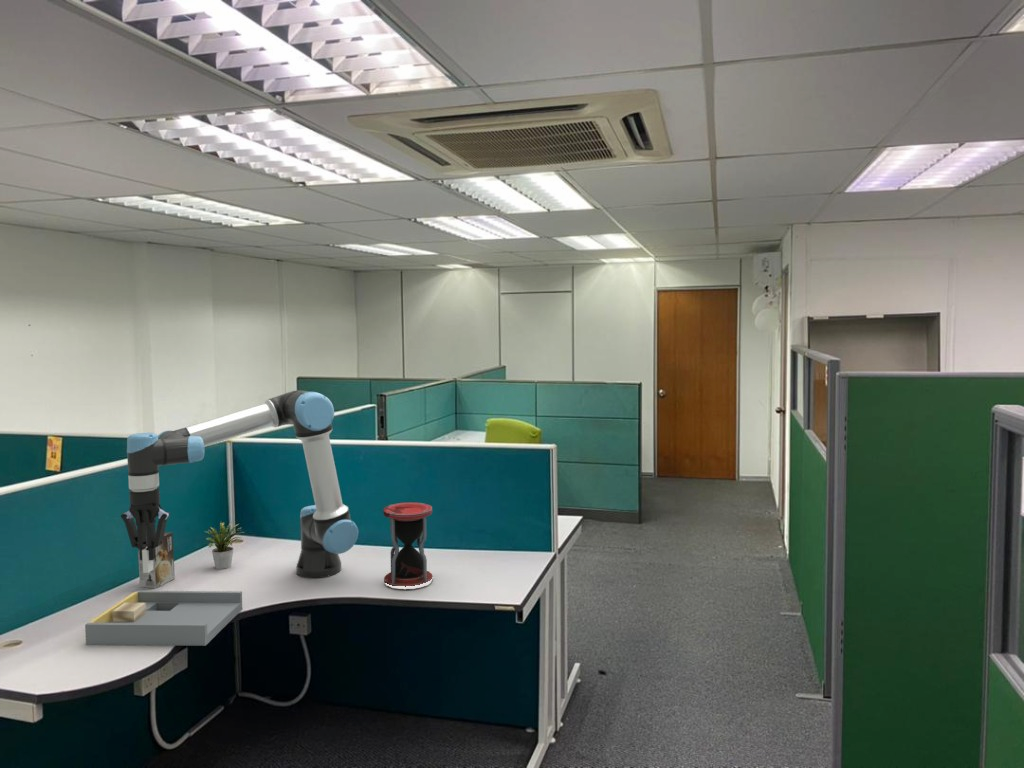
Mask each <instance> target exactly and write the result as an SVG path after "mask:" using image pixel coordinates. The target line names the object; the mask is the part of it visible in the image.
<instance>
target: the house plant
mask: <svg viewBox="0 0 1024 768" xmlns="http://www.w3.org/2000/svg"><path fill="white" fill-rule="evenodd" d="M232 523H233V521H231V522H230V523H229V524H228V525H227V526H225V522H222V521H220V522H219V531H218V530H217V529H216V527H215V528H214V527H211V526H210V527H209V528H210V529H208V530H207V531H206V530H205V533H208V534H209V535H210V536H211V537H206V540H208V541H211V542H209V543H208V545H207V546H208V548H211V547H214V548H213V549H212V550H211V552H212V553H211V554H212V557H213V562H214V566H215V569H217V570H225V569H229V568H231V567H232V561H233V555H234V547H233V543H234V542H237V541H241V542H242V540H241V539H242V537H241V536H240V537H239V536H236V535H240V534H242V533H244V531H240V530H239V529H240V527H238V526H239V523H238V524H235V525H234V526H233V527H231V529H230V530H229V528H230V526H231V524H232ZM236 527H238V528H236ZM242 528H243V527H241V529H242ZM228 530H229V532H228ZM237 531H239V532H237ZM234 536H235V537H234ZM212 542H213V543H212ZM215 547H216V548H215Z"/></svg>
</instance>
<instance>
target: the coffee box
mask: <svg viewBox="0 0 1024 768" xmlns="http://www.w3.org/2000/svg"><path fill="white" fill-rule="evenodd" d="M173 534H174V532H169V531H168V532H167V531H166V532H164V537H163V542H162V544H161V545H160V546H158V547H156V548H155V550H156V558H155V559H154V560H153V568H154V570H152V571H150V572H149V573H143V560H140V556H139V549H138V548H137V556H138V574H139V588H148V589H158V588H159V587H161V586H163V585H165V584H167V583H170V582H171V581H173V580H175V577H176V576H175V556H174V554H175V553H174V537H173ZM146 548H147V546H146Z"/></svg>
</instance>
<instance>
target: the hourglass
mask: <svg viewBox="0 0 1024 768" xmlns="http://www.w3.org/2000/svg"><path fill="white" fill-rule="evenodd" d="M382 511H383V512H382V514H383V516H384V517H385V518H388V519H389V532H390V534H391V538H390V539H391V543H392V545H393V546H392V547H391V549H390V572H389V573H387V574H385V575H384V578H383V579H384V580H383V581H384V582H385V583H387V584H389V585H392V586H405V587H406V586H415V585H420V584H423V583H426V582H428V581H430V580H431V579H432V577H433V578H434V576H433V573H432V572H431V571H428V570H427V569H428V567H427V566H428V565H427V564H428V561H427V560H428V559H427V556H426V554H425V548H424V544H425V542H426V541H427V517H429V516H431V515H432V514H433V506H432V505H430V504H426V503H424V502H423V503H422V502H400V503H394V504H389V505H387V506H385V507H384V508H383V510H382ZM399 541H400V542H401V543H403V547H402V548H401V549H400V547H399ZM415 541H416V544H417V546H418V550H417V549H416V548H415V547H414V546H413V544H414V543H415Z"/></svg>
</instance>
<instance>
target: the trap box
mask: <svg viewBox="0 0 1024 768" xmlns="http://www.w3.org/2000/svg"><path fill="white" fill-rule="evenodd" d="M124 603H146V613H145V614H144V615H143V616H141V617H140V618H139V619H137V620H136V621H135V622H113V614H112V611H113V610H115V609H116V608H118V607H119V606H121V605H122V604H124ZM242 610H243V591H237V590H236V591H231V590H230V591H228V590H227V591H224V590H223V591H222V590H221V591H219V590H214V591H213V590H201V591H200V590H135V591H133V592H132V593H130V594H128V595H127V596H126V597H124V598H122V599H121V600H119V601H118V602H117V603H115V604H114V605H112V606H110V608H108V609H106V610H105V611H103V612H102V613H100V614H99V615H97V616H96V617H94V618H93V619H91V620H89V621H88V622H86V623H85V624H84V628H85V629H84V630H85V631H84V632H85V645H87V646H89V645H91V646H92V645H94V646H95V645H98V646H99V645H100V646H101V645H102V646H106V645H107V646H111V645H112V646H190V647H191V646H194V647H195V646H196V647H197V646H198V647H199V646H203V647H204V646H205V647H206V646H207V645H208V644H209V643H210V642H211V641H212V640H213V639H214V638H215V637H216V636H217V635H218V634H219V633H220V632H221V631H222V630H223V629H224V628H226V626H227V625H228V624H229V623H230V622H231V621H232V620H233V619H234V618H235V617H236V616H238V614H239V613H240V612H241V611H242Z"/></svg>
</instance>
